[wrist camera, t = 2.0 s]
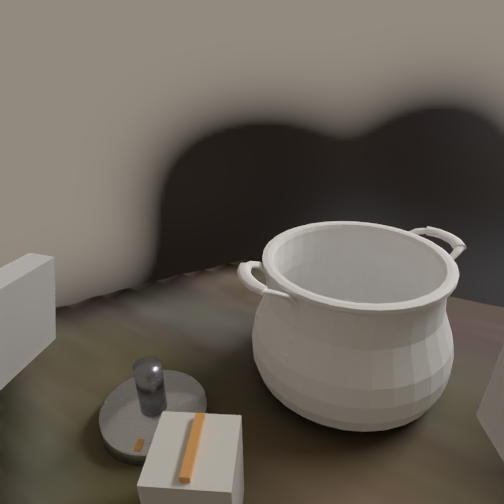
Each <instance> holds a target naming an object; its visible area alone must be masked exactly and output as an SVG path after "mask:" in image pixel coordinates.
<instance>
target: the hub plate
mask: <svg viewBox="0 0 504 504" xmlns="http://www.w3.org/2000/svg"><path fill="white" fill-rule="evenodd" d="M133 372H134V377H132V378H130V379H128V380H127V381H125V382H123V383H122V384H120V385H119V386H118V387H117V388H115V389H114V390H113V391H112V392H111V393H110V395H109V396H108V397H107V398H106V400H105V402H104V403H103V405H102V408H101V410H100V414H99V426H100V430H101V434H102V438H103V442H104V445H105V447H106V449H107V450H108V451H109V452H110V454H112V455H113V456H114V457H115V458H117V459H118V460H120V461H122V462H125V463H128V464H132V465H139V466H144V463H145V460H146V458H147V455H148V452H149V449H150V446H151V443H152V440H153V437H154V435H155V432H156V429H157V426H158V423H159V420H160V417H161V414H162V412H163V411H170V412H188V413H207V414H208V410H207V399H206V394H205V391H204V389H203V387H202V386H201V384H200V383H199V382H198V381H197V380H196V379H194V378H193V377H191V376H190V375H187V374H185V373H182V372H179V371H174V370H162V365H161V361H160V360H159V359H158V358H156V357H144V358H142V359H140V360H138V361H137V362H136V363H135V364H134V366H133Z"/></svg>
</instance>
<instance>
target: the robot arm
mask: <svg viewBox="0 0 504 504" xmlns="http://www.w3.org/2000/svg"><path fill="white" fill-rule="evenodd" d="M54 339H55V257H51V256H46V255H39V254H33V253H28V254H26V255H24V256H23V257H21V258H19V259H17V260H15V261H13V262H11V263H9V264H7V265H5V266H3V267H1V268H0V390H1V389H2V388H3V387H4V386H5V385H6V384H7V383H8V382H10V381H11V380H12V379H13V378H14V377H15V376H16V375H17V374H18V373H19V372H20V371H21V370H22V369H23V368H24V367H26V366H27V365H28V364H29V363H30V362H31V361H32V360H33V359H34V358H35V357H36V356H37V355H38V354H39V353H41V352H42V351H43V350H44V349H45V348H46V347H47V346H48V345H49V344H50V343H51V342H52V341H53V340H54ZM476 417H477V418H478V420H479V422H480V423H481V425H482V427H483V428H484V430H485V432H486V433H487V435H488V437H489V438H490V440H491V442H492V443H493V445H494V447H495V448H496V450H497V452H498V453H499V455H500V457H501V458H502V460H503V462H504V345H503V348H502V350H501V353H500V355H499V358H498V360H497V363H496V365H495V368H494V371H493V373H492V376H491V378H490V381H489V383H488V386H487V388H486V391H485V394H484V396H483V399H482V401H481V404H480V406H479V409H478V412H477V414H476Z"/></svg>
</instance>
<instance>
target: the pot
mask: <svg viewBox="0 0 504 504" xmlns="http://www.w3.org/2000/svg"><path fill="white" fill-rule="evenodd" d="M425 233H426V235H429V236H434V237H438V238H440V239H443V240H445V241H446V242H448V243H449V244H450V245H451V246H452V248H453V249H454V250H453V251H452V253H451V254H450V255H449V254H448V253H447V252H446V251H445V250H444V249H442V248H441V247H439V246H438V245H436V244H435V243H433V242H432V241H430V240H427V239H425V238H423V237H421V236H419V234H425ZM465 249H466V246H465V244H464V243H463V242H462V240H461V239H459V238H457V237H456V236H454V235H453V234H451V233H448V232H446V231H443V230H441V229H437V228H432V227H427V228H417V229H414V230H411V231H409V232H408V231H405V230H401V229H397V228H393V227H389V226H384V225H379V224H373V223H365V222H350V221H335V222H321V223H313V224H308V225H303V226H299V227H296V228H293V229H290V230H287V231H285V232H283V233H281V234H279V235H277V236H276V237H275V238H273V239H272V240H271V241H270V242H269V243H268V244H267V246H266V247H265V249H264V252H263V257H262V262H263V264H262V263H261V262H256V261H249V262H246V263H240V265H239V268H238V270H237V274H238V276H239V279H240V281H241V282H242V283H243V284H244V285H245V286H246V287H247V288H248V289H249V290H251V291H253V292H255V293H257V294H260V295H264V296H263V298H262V300H261V302H260V304H259V306H258V308H257V311H256V315H255V320H254V325H253V330H252V344H253V354H254V360H255V363H256V365H257V367H258V370H259V372H260V374H261V377H262V379H263V381H264V383H265V384H266V386H267V387H268V388H269V390H270V391H271V393H272V394H273V395H274V396H275V397H276V398H277V399H278V400H279V401H281V402H282V403H283V404H284V405H285V406H286V407H288V408H289V409H291V410H292V411H294V412H296V413H297V414H299V415H301V416H302V417H304V418H306V419H308V420H311V421H313V422H315V423H318V424H320V425H323V426H326V427H330V428H334V429H338V430H343V431H354V432H370V431H382V430H388V429H392V428H396V427H400V426H403V425H406V424H408V423H410V422H412V421H414V420H415V419H417V418H419V417H421V416H422V415H423V414H424V413H425V412H426V411H427V410H428V409H430V408H431V407H432V405H433V404H434V403H435V402H436V401H437V400H438V399H439V397H440V396H441V394H442V392H443V391H444V389H445V387H446V386H447V382H448V379H449V376H450V373H451V368H452V363H453V338H452V332H451V328H450V325H449V321H448V318H447V314H446V301H447V297H448V296H450V294H451V293H452V292H453V290H454V289H455V288H456V286H457V282H458V278H459V271H458V266H457V264H456V263H455V261H454V259H455V258H457V257H458V256H459V255H460V254H461V252H462V251H463V250H465ZM251 268H257V269H260V270H261V271H262V272H263V273H264V274H265V276H266V280H267V286H265V285H264V284H262V283H260V282H259V281H258V280H256V279H255V278H254V277H253V276H252V274H251Z"/></svg>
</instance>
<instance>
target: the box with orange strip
mask: <svg viewBox="0 0 504 504" xmlns="http://www.w3.org/2000/svg"><path fill="white" fill-rule="evenodd" d="M137 490H138V495H139V499H140V504H243V497H244V468H243V442H242V417H241V415H226V414H207V413H188V412H170V411H163V412H162V414H161V417H160V420H159V423H158V426H157V429H156V432H155V435H154V437H153V440H152V443H151V446H150V449H149V452H148V455H147V458H146V460H145V463H144V466H143V469H142V472H141V475H140V478H139V481H138V483H137Z"/></svg>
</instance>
